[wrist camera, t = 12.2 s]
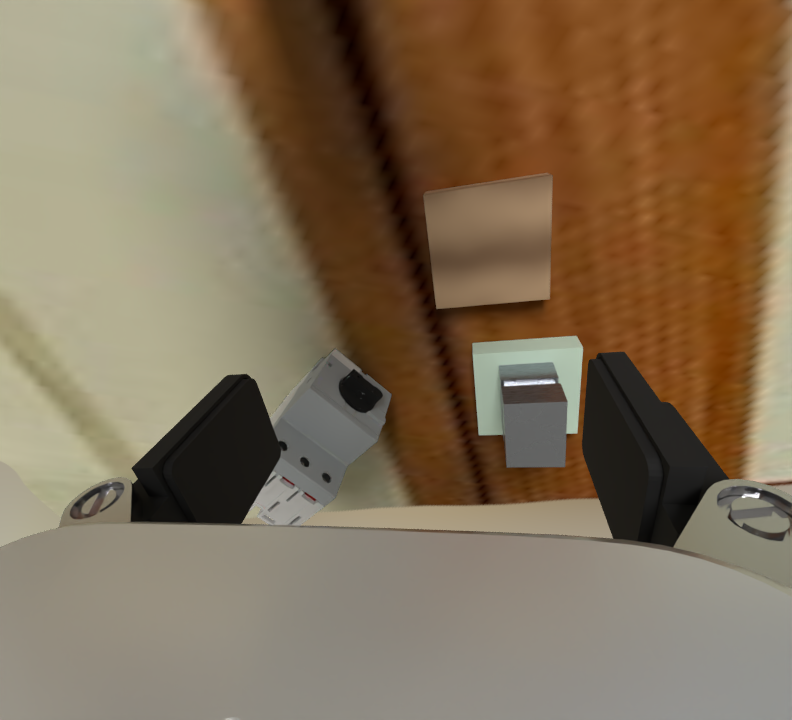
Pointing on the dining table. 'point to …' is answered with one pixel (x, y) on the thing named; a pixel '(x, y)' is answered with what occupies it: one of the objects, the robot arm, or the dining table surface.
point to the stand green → (525, 351)
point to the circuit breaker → (320, 438)
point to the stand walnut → (490, 241)
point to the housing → (533, 415)
